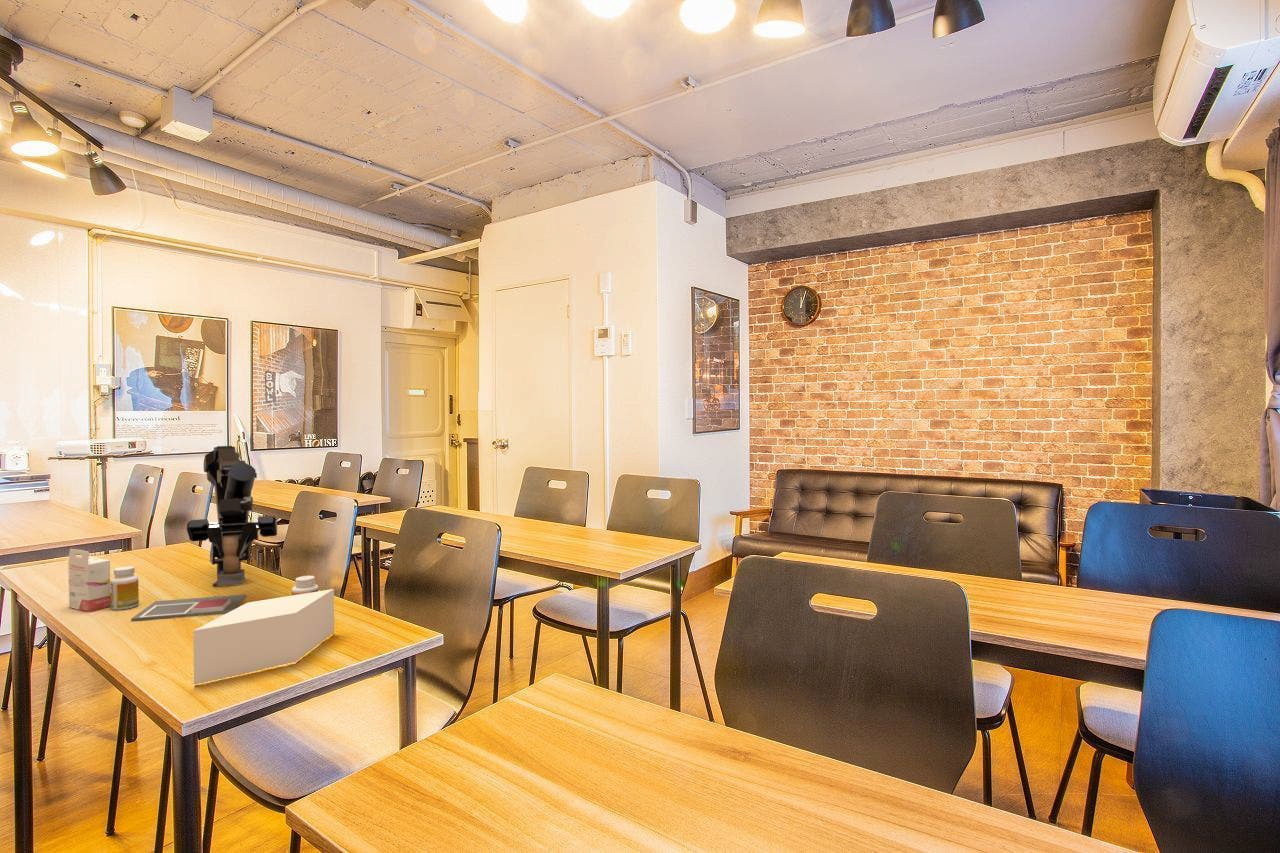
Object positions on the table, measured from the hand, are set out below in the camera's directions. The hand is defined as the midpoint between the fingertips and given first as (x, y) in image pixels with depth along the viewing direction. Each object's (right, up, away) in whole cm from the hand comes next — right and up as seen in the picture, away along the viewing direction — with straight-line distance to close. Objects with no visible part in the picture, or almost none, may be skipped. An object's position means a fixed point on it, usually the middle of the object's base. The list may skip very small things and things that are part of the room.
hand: (229, 557), depth 154 cm
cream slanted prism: (+26, -15, -28) cm, 41 cm away
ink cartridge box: (-36, -13, +3) cm, 39 cm away
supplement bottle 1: (-28, -13, +3) cm, 31 cm away
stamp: (-1, -7, +2) cm, 7 cm away
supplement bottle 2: (+22, -14, -6) cm, 27 cm away
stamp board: (-11, -13, +2) cm, 17 cm away
